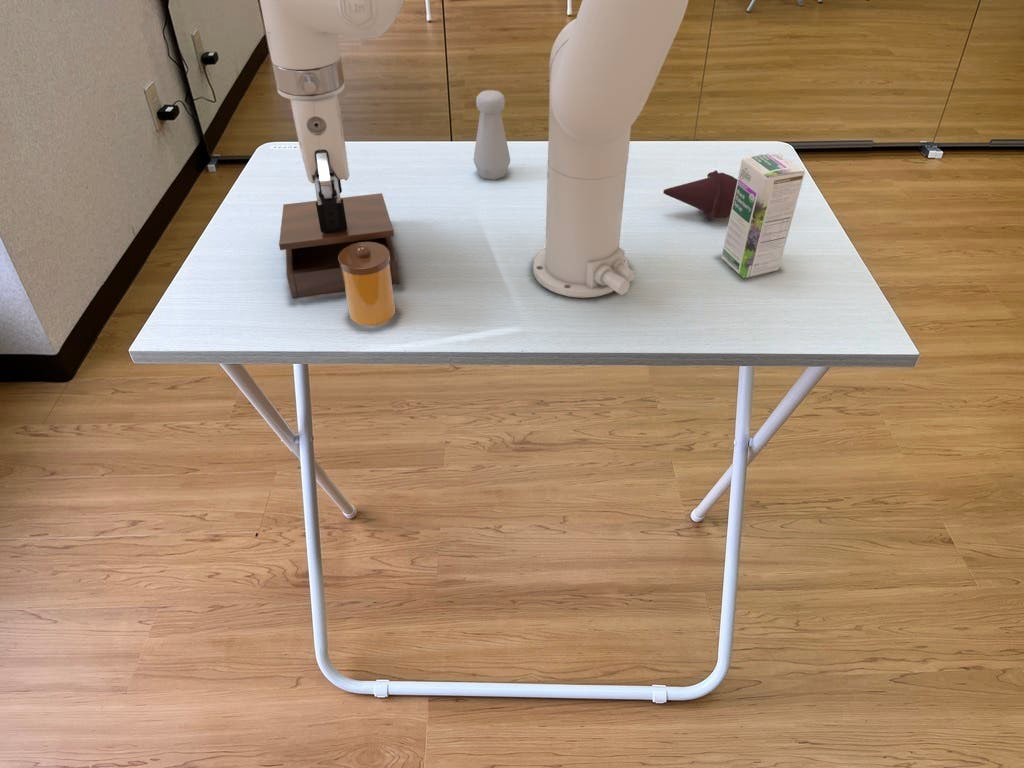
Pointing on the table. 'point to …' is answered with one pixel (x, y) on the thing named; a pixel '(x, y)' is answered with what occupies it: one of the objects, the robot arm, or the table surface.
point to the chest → (325, 268)
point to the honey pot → (367, 282)
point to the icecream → (708, 194)
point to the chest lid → (362, 224)
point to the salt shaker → (491, 136)
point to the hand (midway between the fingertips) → (332, 211)
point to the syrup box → (761, 213)
